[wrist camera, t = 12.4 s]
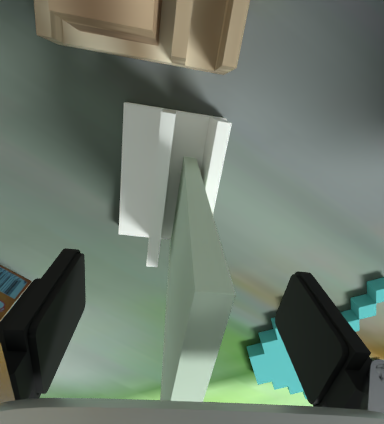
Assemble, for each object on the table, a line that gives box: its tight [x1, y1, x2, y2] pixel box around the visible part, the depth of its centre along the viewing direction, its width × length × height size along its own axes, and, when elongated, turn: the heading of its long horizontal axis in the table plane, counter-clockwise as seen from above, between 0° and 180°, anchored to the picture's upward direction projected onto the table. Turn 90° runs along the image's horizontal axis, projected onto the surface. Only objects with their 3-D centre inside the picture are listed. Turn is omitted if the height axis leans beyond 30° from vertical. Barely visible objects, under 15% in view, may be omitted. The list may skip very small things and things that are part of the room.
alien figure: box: [246, 277, 384, 399], centre depth 37 cm, size 20×2×20 cm
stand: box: [119, 102, 232, 267], centre depth 23 cm, size 9×13×6 cm
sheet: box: [160, 156, 236, 402], centre depth 17 cm, size 1×10×18 cm, turn 170°
